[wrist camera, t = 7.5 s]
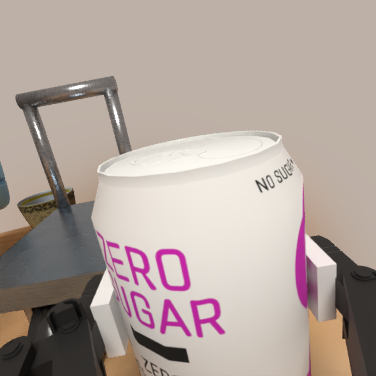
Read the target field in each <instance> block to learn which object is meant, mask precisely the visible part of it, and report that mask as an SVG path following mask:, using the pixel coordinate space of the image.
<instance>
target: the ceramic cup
mask: <svg viewBox="0 0 376 376" xmlns="http://www.w3.org/2000/svg"><path fill="white" fill-rule="evenodd" d="M64 188H65V191H66V194H67V197H68V200H69V202H70V205H74V204H76V203H75V196H74V191H73V188H70V187H64ZM17 206H18V208H19V210H20V211H21V213H22V215H23V216H24V218H25V219H26V221H27V222H28V223H29V224H30V226H31V228H32V229H34V228H35V227H36V226H37V225H38V224H40V223H41V222H42V221H43V220H44V219H46V218H47V217H48V216H49V215H50V214H51V213H53V212H54V211H55V210H56V209H57V205H56V202H55V199H54V196H53V194H52V191H51V190H48V191H45V192H41V193H38V194H35V195H32V196H30V197H28V198H25V199H23V200H22V201H20V202H19V203H18V204H17Z"/></svg>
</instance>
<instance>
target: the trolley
mask: <svg viewBox="0 0 376 376" xmlns="http://www.w3.org/2000/svg"><path fill="white" fill-rule="evenodd" d="M117 91H118V88H117V84H116V80H115V78H114V76H110V77H105V78H100V79H95V80H89V81H84V82H79V83H74V84H69V85H63V86H58V87H53V88H48V89H42V90H37V91H32V92H27V93H22V94H17V95H16V102H17V104H18V106H19V107H20V108H21V109H22V110H23V112H24V115H25V118H26V121H27V123H28V126H29V129H30V132H31V135H32V137H33V140H34V143H35V145H36V149H37V152H38V154H39V157H40V160H41V163H42V166H43V168H44V171H45V174H46V176H47V180H48V182H49V185H50V188H51V191H52V194H53V196H54V199H55V202H56V205H57V209H56V210H55V211H54V212H53V213H51V214H50V215H49V216H48V217H47V218H46V219H44V220H43V221H42V222H41V223H40V224H38V225H37V226H36V227H35V228H34V229H32V230H31V231H30V232H29V233H28V234H26V235H25V236H24V237H23V238H22V239H21V240H19V241H18V242H17V243H16V244H15V245H13V246H12V247H11V248H10V249H9V250H7V251H6V252H5V253H4V254H3V255H1V256H0V314H1V313H7V312H12V311H18V310H24V312H25V314H26V316H27V319H28V321H29V323H30V325H29V331H28V337H30V339H31V340H32V342H33V343H35V342H37V341H40V340H42V339H45V338H47V337H49V336H51V335H53V334H52V332H51V330H50V327H49V325H48V323H47V320H46V316H47V313H48V312H49V311H50V309H51V308H53V307H54V306H55V305H56V304H58V303H60V302H62V301H63V300H67V299H70V298H77V299H80V297H81V295H82V293H83V291H84V289H85V287H86V285H87V283H88V282H89V281H90V280H91V279H92V278H93V277H94V276H95V275H100V274H104V273H105V271H106V268H107V266H106V263H105V260H104V257H103V254H102V251H101V247H100V244H99V241H98V238H97V235H96V232H95V229H94V225H93V222H92V219H91V216H92V211H93V207H94V202H95V201H91V202H85V203H79V204H74V205H70V202H69V200H68V197H67V194H66V191H65V188H64V185H63V182H62V179H61V176H60V173H59V170H58V167H57V164H56V161H55V158H54V155H53V152H52V150H51V147H50V144H49V141H48V138H47V135H46V132H45V129H44V126H43V123H42V120H41V117H40V114H39V111H38V109H37V107H40V106H46V105H51V104H56V103H62V102H67V101H72V100H77V99H83V98H88V97H93V96H98V95H104V97H105V100H106V104H107V108H108V112H109V116H110V120H111V123H112V127H113V131H114V135H115V139H116V142H117V146H118V150H119V154H120V155H122V154H124V153H127V152H130V151H132V150H131V146H130V142H129V138H128V134H127V130H126V126H125V122H124V117H123V114H122V110H121V105H120V101H119V97H118V94H117ZM105 353H106V350H105V349H104V353H103V356H102V360H103V363H104V359H105Z"/></svg>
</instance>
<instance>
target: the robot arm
mask: <svg viewBox="0 0 376 376" xmlns="http://www.w3.org/2000/svg"><path fill="white" fill-rule="evenodd" d="M9 201H10V196H9V191H8V187H7V183H6V181H5V177H4V173H3V169H2V166H1V163H0V210H1V209H4V208H5V207H6V206H7V205H8V204H9ZM305 238H306V263H307V289H308V307H309V308H310V310H311V311H312V313H313V314H314V316H315V318H316V319H317V321H318V322H321V321H327V320H333V319H336V308H337V309H338V310H339V312H340V313H341V314H342V315H343V335H342V339H345V340H346V345H347V350H348V356H349V361H350V367H351V372H352V376H376V271H375V270H374V269H371V268H369V267H365V266H358V265H357V264H355V263H354V262H353V261H352V260H351V259H350V258H349V257H348V256H346V255H345V254H344V253H343V252H342V251H340V249H338V248H337V247H336V246H335V245H334V244H333V243H332V242H331V241H329V240H328V239H326V238H324V237H322V236H319V235H318V236H312V237H308V235H307V234H306V233H305ZM46 320H47V323H48V325H49V327H50V330H51V332H52V334H53V335H51V336H49V337H47V338H45V339H42V340H40V341H37V342H35V343H33V342H32V340H31V339H30V337H27V336H22V337H18V338H15V339H13V340H11V341H9V342H8V343H6V344H5V345H4V346H2V347H1V348H0V376H107V375H106V370H105V365H104V363H103V360H102V356H103V353H104V349H105V350H106V353H107V356H108V358H111V357H117V356H123V355H126V352H127V347H128V342H129V336H128V332H127V329H126V326H125V323H124V320H123V317H122V314H121V310H120V307H119V304H118V301H117V298H116V295H115V292H114V288H113V285H112V282H111V279H110V276H109V273H108V269H107V268H106V271H105V273H104V274H100V275H95V276H94V277H93V278H92V279H91V280H90V281H89V282H88V283H87V285H86V287H85V289H84V291H83V293H82V295H81V297H80V299H77V298H70V299H67V300H63V301H62V302H60V303H58V304H56V305H55V306H54V307H53V308H51V309H50V311H49V312H48V313H47V316H46Z"/></svg>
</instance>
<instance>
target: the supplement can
mask: <svg viewBox="0 0 376 376" xmlns="http://www.w3.org/2000/svg"><path fill="white" fill-rule="evenodd" d="M97 173H98V177H99V180H100V181H99V186H98V189H97V194H96V198H95V202H94V207H93V211H92V216H91V219H92V222H93V225H94V229H95V232H96V235H97V238H98V241H99V244H100V247H101V251H102V254H103V257H104V260H105V263H106V266H107V269H108V273H109V276H110V279H111V282H112V285H113V288H114V292H115V295H116V298H117V301H118V304H119V307H120V310H121V314H122V317H123V320H124V323H125V326H126V329H127V332H128V336H129V339H130V342H131V345H132V348H133V351H134V354H135V358H136V361H137V364H138V367H139V370H140V373H141V376H311V365H310V339H309V314H308V289H307V263H306V238H305V212H304V187H303V175H302V173H301V172H300V170H299V169H298V167H297V166H296V164H295V163H294V161H293V160H292V158H291V157H290V155H289V154H288V152H287V151H286V149H285V148H284V146H283V141H282V136H280V135H278V134H277V133H275V132H265V131H236V132H226V133H216V134H209V135H202V136H195V137H189V138H184V139H179V140H173V141H169V142H164V143H160V144H156V145H152V146H147V147H144V148H141V149H137V150H134V151H130V152H127V153H124V154H122V155H119V156H117V157H114V158H112V159H109V160H108V161H106V162H104V163H103V164H101V165H99V168H98V170H97Z"/></svg>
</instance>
